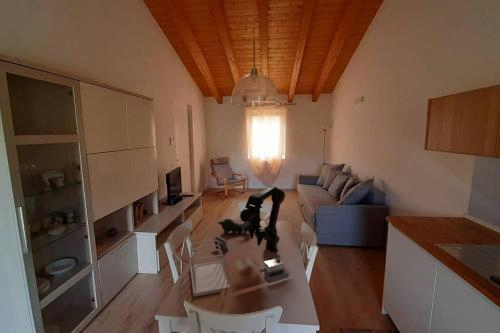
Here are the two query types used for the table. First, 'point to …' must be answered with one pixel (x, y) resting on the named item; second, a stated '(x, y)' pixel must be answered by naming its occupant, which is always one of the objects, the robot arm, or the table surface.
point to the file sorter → (208, 273)
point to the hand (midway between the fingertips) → (255, 242)
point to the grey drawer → (274, 267)
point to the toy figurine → (231, 226)
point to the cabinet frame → (275, 278)
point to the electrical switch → (221, 243)
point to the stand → (245, 263)
